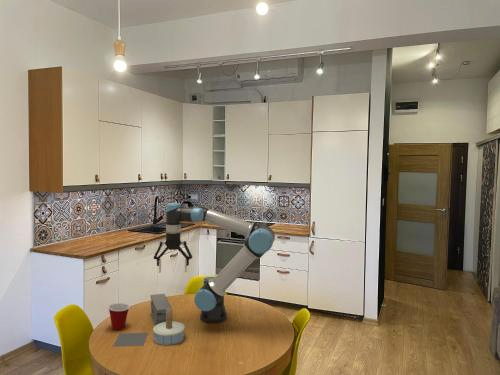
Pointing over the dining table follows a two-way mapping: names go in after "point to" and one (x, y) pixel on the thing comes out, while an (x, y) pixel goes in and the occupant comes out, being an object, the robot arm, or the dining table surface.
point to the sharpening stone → (159, 308)
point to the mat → (130, 339)
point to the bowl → (169, 339)
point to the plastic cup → (118, 315)
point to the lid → (168, 326)
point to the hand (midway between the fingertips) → (172, 271)
